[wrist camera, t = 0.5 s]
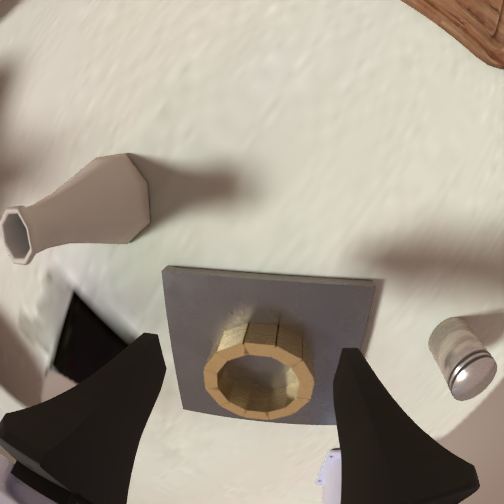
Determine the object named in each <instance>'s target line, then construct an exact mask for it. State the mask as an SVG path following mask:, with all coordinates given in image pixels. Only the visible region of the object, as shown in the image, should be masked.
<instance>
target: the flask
mask: <svg viewBox="0 0 504 504" xmlns="http://www.w3.org/2000/svg"><path fill="white" fill-rule="evenodd" d="M149 223H150V213H149V201H148V186H147V182H146V181H145V179H144V178H143V177H142V175H141V174H140V172H139V171H138V170H137V168H136V167H135V166H134V164H133V163H132V162H131V160H130V159H129V157H128V156H127V155H126V154H119V155H112V156H105V157H99V158H95V159H94V160H92V161H91V162H90V163H89V164H87V165H86V166H85V167H84V168H82V169H81V170H80V171H79V172H78V173H77V174H75V175H74V176H73V177H72V178H71V179H69V180H68V181H67V182H65V183H64V184H63V185H62V186H61V187H59V188H58V189H57V190H56V191H54V192H53V193H52V194H51V195H49V196H47V197H45V198H44V199H42V200H40V201H38V202H37V203H35V204H33V205H31V206H28V207H25V206H16V207H9V208H6V209H5V211H4V214H3V216H2V218H1V221H0V230H1V236H2V241H3V246H4V247H5V249H6V251H7V253H8V255H9V256H10V258H11V260H12V261H13V263H14V264H21V265H27V264H29V263H30V262H31V261H32V259H33V257H34V256H35V254H36V253H38V252H41V251H43V250H45V249H47V248H50V247H54V246H59V245H63V244H68V243H103V244H128V243H129V242H130V241H131V240H132V239H133V238H134V237H135V236H136V235H137V234H138V233H139V232H140V231H141V230H142V229H144V228H145V227H146V226H147V225H148V224H149Z"/></svg>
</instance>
